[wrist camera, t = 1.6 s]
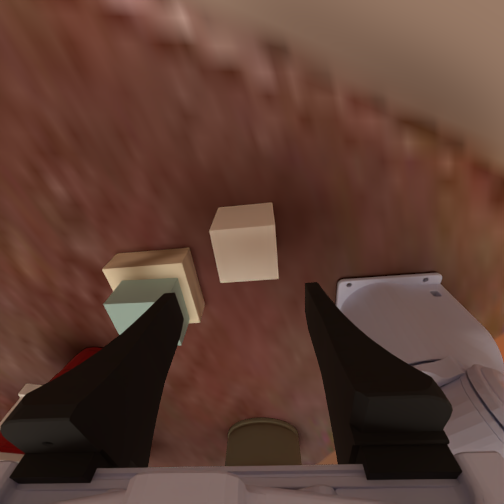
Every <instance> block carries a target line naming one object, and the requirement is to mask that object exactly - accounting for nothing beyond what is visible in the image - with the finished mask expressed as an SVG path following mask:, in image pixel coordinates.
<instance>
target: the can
mask: <svg viewBox="0 0 504 504" xmlns="http://www.w3.org/2000/svg"><path fill="white" fill-rule="evenodd" d="M276 465H302V464H301V456H300V448H299V441H298V432H297V430H296V429H295V428H294V427H293V426H292V425H291V424H289V423H287V422H284V421H282V420H278V419H273V418H251V419H246V420H242V421H240V422H238V423H236V424H234V425H233V426H232V427H231V428H230V429H229V432H228V442H227V451H226V461H225V466H276Z"/></svg>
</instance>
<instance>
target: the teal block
mask: <svg viewBox="0 0 504 504" xmlns="http://www.w3.org/2000/svg"><path fill="white" fill-rule="evenodd" d="M174 292H175V294H176V297H177V300H178V303H179V306H180V309H181V312H182V314H183V317H184V322H183V327H182V332H181V336H180V339H179V342H178V345H182V342H183V339H184V336H185V333H186V330H187V327H188V324H189V321H190V318H189V314H188V311H187V308H186V304H185V301H184V297H183V294H182V291H181V287H180V284H179V280H178V278H163V279H144V280H124V281H121V282H120V284H119V285H118V286H117V288H116V289H115V290H114V291H113V293H112V294H111V295H110V296H109V298H108V299H107V300H106V302H105V303H104V304H103V305H104V307H105V309H106V310H107V312H108V314H109V316H110V318H111V320H112V322H113V324H114V326H115V328H116V330H117V331H118V333H119V335H120V334H121V333H123V332H124V331H125V330H126V329H127V328H128V327H129V326H130V325H132V324H133V323H134V322H135V321H136V320H137V319H138V318H139V317H140V316H141V315H142V314H143V313H144V312H145V311H146V310H147V309H149V308H150V307H151V306H152V305H153V304H154V303H155V302H156V301H157V300H158V299H159V298H160V297H161V296H162V295H163V294H164V293H174Z"/></svg>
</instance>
